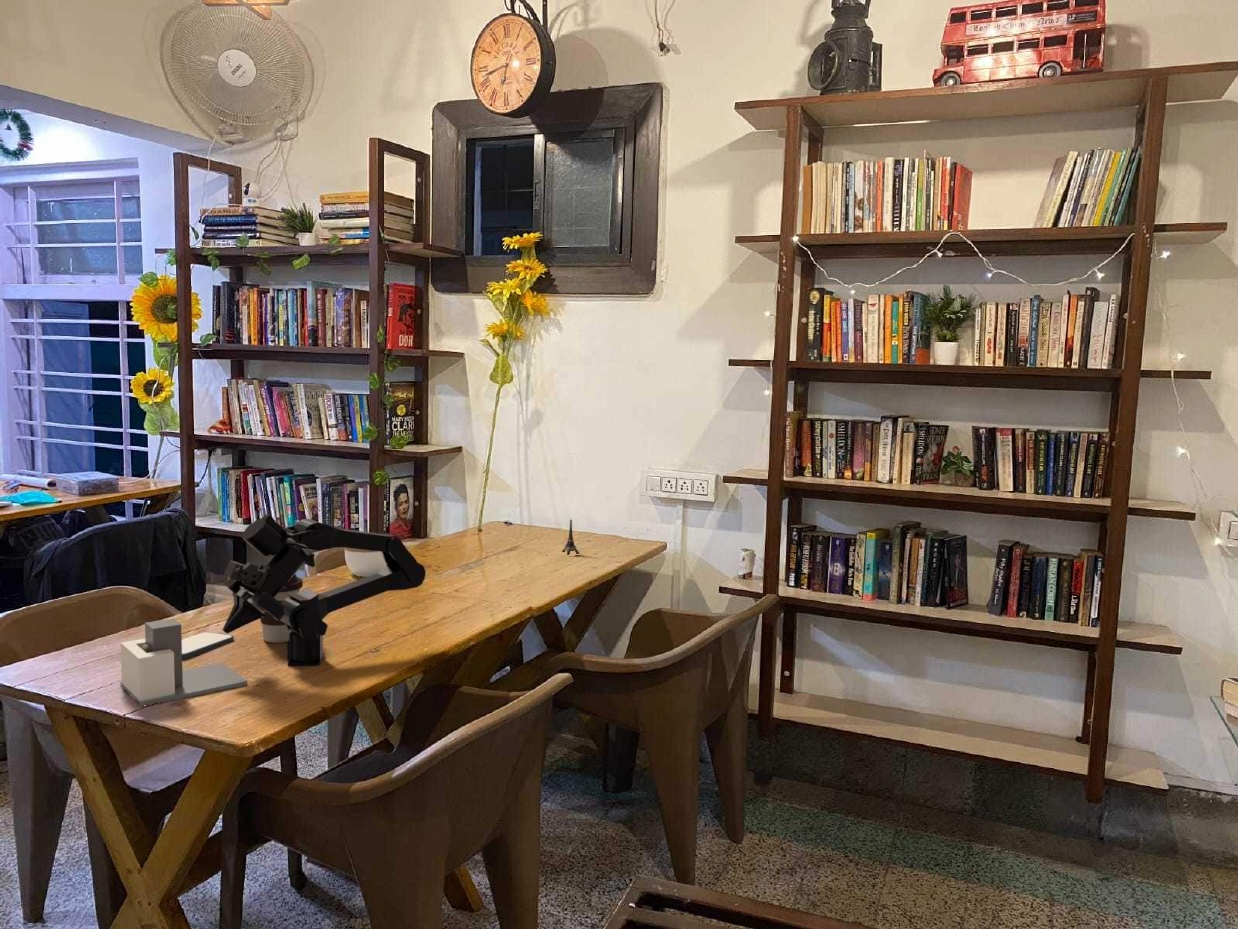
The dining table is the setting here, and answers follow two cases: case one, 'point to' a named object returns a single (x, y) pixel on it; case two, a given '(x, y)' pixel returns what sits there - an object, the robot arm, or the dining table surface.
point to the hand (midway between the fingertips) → (224, 632)
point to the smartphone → (203, 643)
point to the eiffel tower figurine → (570, 542)
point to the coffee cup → (277, 629)
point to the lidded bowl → (364, 561)
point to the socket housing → (169, 676)
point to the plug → (166, 642)
